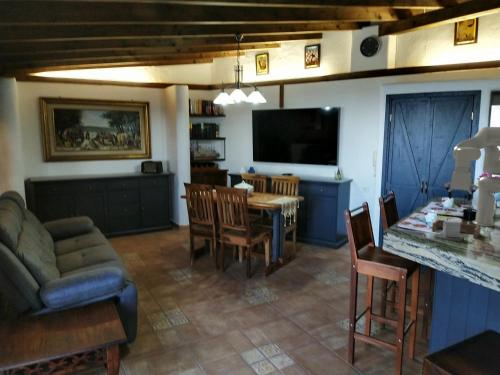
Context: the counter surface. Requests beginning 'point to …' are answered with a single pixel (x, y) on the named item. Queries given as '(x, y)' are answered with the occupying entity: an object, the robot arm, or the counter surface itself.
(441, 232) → the mat
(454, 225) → the medicine box
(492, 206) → the robot arm
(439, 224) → the open side wooden frame
